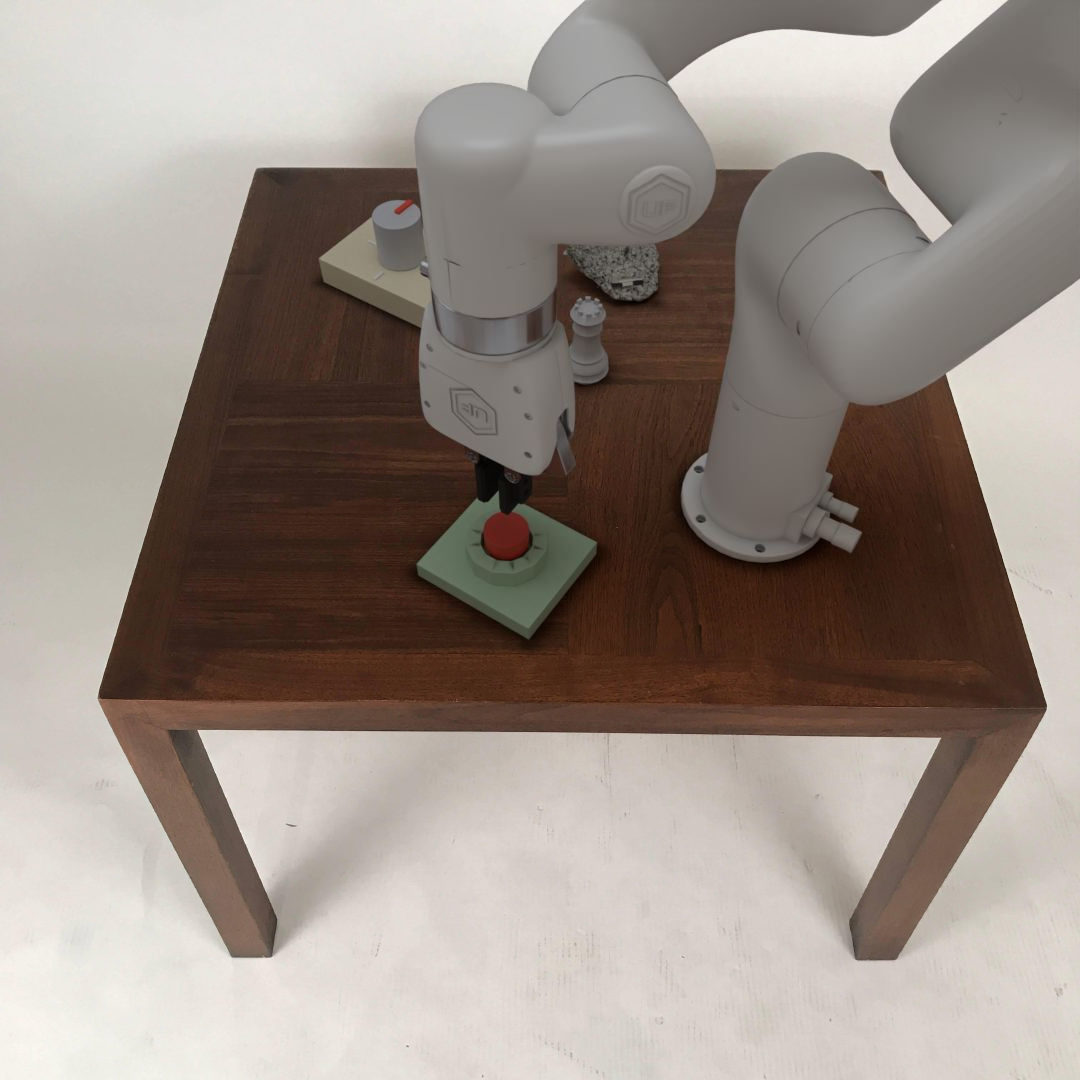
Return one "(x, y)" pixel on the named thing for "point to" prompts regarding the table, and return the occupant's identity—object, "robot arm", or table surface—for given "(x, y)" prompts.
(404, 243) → the knob
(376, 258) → the panel
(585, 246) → the rock sample
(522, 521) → the button
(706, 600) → the table surface
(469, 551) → the button block
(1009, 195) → the robot arm
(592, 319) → the rook chess piece
